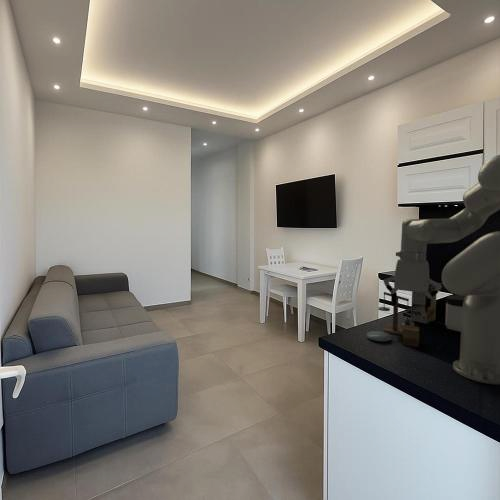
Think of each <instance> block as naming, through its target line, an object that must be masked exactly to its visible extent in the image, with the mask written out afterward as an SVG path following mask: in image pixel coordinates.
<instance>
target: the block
mask: <svg viewBox="0 0 500 500" xmlns="http://www.w3.org/2000/svg"><path fill="white" fill-rule="evenodd" d="M402 329H403V336H402V346H408V347H409V346H410V347H414V348H418V347H419V343H420V326H415V325H413V326H408V325H404V327H403V328H402Z"/></svg>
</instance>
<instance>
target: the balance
mask: <svg viewBox="0 0 500 500" xmlns="http://www.w3.org/2000/svg"><path fill="white" fill-rule="evenodd" d="M385 296H389V297H391V293H390V292H387V291H384V292H383V306H379V307H378V310H379V311H381V312H390V311H391V308H390V307H385V301H386V297H385ZM399 300H402V301H406V302H409V300H410V298H407V297H403V296H401V295H397V300H396V305H395V306H393V305H392V306H393V309H392V311H393V312H392V326H385V327H384V328H383V332H385V333H388V334H390V335H391V334H392V335H396V336H397V335H398V336H402V337H403V328H404V325H408V326H414V324H413V323H411V319H409V303H407V308H406V309H407V311H406V318H404V322H402V323H400V324H401V325H400V326H401V327H403V328H399V327H398V324H399V323H398V322H399Z"/></svg>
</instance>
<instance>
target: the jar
mask: <svg viewBox="0 0 500 500" xmlns="http://www.w3.org/2000/svg"><path fill="white" fill-rule="evenodd" d="M464 298H465V296H460V295H456V294H454V295H453V294H452V295H450V294H449V295H447V296H446V303H445V322H444V323H445V324H444V325H445V327H446V329H448V330H451V331H455V332H460V333H461V322H462V306H463V301H464Z"/></svg>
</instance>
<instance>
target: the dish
mask: <svg viewBox="0 0 500 500" xmlns="http://www.w3.org/2000/svg"><path fill="white" fill-rule="evenodd" d="M366 337H367V338H368V339H370V340H372V341H374V342H382V343H384V342H388V341H391V340H392V335H391V334H390V333H385V332H384V331H378V330H377V331H376V330H375V331H374V330H373V331H372V330H371V331H367V332H366Z"/></svg>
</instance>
